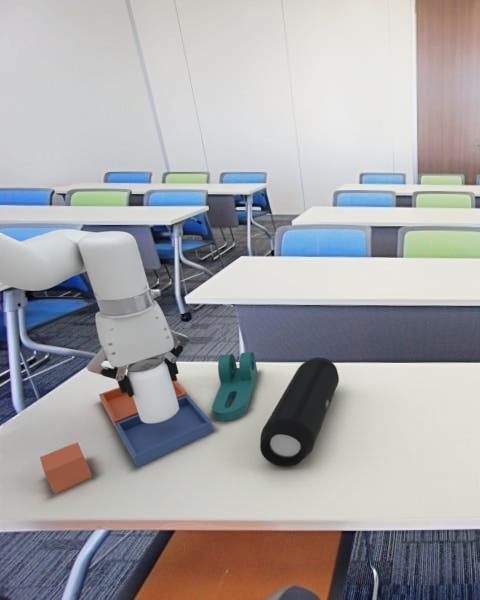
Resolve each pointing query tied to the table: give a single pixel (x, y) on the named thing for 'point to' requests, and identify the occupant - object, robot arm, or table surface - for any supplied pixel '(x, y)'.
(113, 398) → the terracotta tray
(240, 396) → the bracket
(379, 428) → the table surface
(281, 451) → the portable speaker
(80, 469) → the block
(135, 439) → the blue tray
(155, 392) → the can
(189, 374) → the table surface
